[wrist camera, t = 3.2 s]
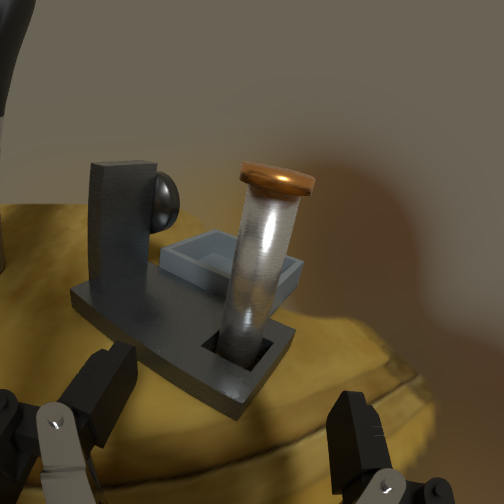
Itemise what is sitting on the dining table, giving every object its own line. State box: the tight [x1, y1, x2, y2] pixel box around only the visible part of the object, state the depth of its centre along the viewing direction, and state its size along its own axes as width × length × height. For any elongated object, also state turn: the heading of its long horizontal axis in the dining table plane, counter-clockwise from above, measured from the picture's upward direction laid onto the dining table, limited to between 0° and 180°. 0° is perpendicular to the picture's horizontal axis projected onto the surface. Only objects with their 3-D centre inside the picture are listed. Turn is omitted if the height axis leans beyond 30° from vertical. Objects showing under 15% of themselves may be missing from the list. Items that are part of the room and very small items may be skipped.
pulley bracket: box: [70, 160, 296, 421], centre depth 22 cm, size 20×10×13 cm, turn 63°
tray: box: [159, 229, 304, 317], centre depth 34 cm, size 13×11×4 cm
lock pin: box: [216, 162, 315, 372], centre depth 20 cm, size 4×4×15 cm
